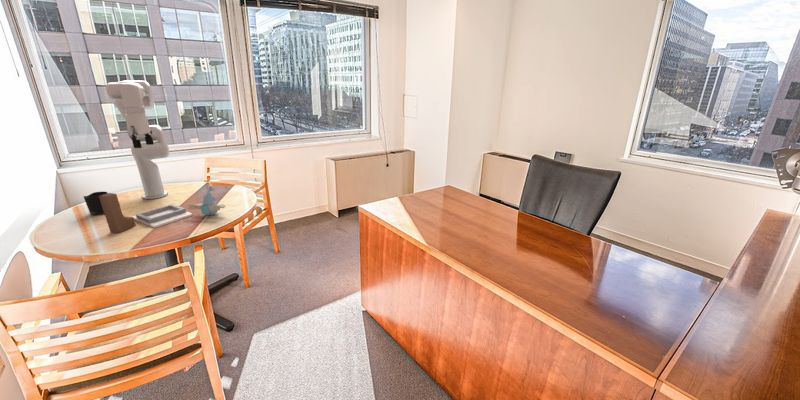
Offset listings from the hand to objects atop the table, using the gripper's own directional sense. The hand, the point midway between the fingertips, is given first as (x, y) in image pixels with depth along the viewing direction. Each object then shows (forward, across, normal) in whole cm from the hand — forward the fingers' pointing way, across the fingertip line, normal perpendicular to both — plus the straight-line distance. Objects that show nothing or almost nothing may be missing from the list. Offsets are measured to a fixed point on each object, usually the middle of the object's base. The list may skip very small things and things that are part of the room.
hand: (144, 146), depth 165 cm
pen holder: (+35, -2, -31) cm, 47 cm away
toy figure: (+36, +6, +28) cm, 46 cm away
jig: (+35, +7, +4) cm, 36 cm away
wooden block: (+36, +21, -6) cm, 42 cm away
